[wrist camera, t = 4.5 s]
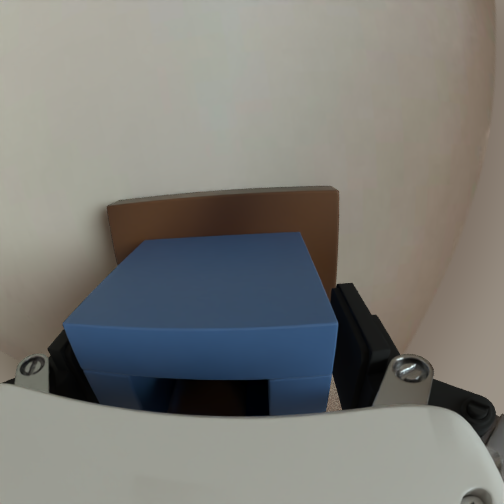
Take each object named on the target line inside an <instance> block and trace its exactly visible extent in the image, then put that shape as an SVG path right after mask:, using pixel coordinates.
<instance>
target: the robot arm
mask: <svg viewBox="0 0 504 504" xmlns="http://www.w3.org/2000/svg"><path fill="white" fill-rule="evenodd" d="M330 304H331V306H332V309H333V311H334V314H335V316H336V319H337V321H338V332H337V341H336V349H335V357H334V364H333V371H332V374H333V378H334V381H335V385H336V388H337V392H338V396H339V400H340V403H341V407H342V410H339V411H330V412H322V413H310V414H296V415H280V416H201V415H184V414H171V413H160V412H151V411H142V410H134V409H127V408H120V407H114V406H108V405H102V404H100V403H99V401H98V399H97V397H96V395H95V394H94V392H93V390H92V388H91V386H90V384H89V382H88V380H87V378H86V376H85V374H84V369H82V368H81V367H80V364H79V362H78V360H77V358H76V356H75V353H74V351H73V349H72V347H71V344H70V342H69V339H68V337H67V334H66V332H65V329H64V330H63V331H62V332H61V333H60V334H59V336H58V337H57V338H56V339H55V340H54V341H53V343H52V344H51V345H50V346H49V347H48V351H49V353H50V355H51V356H50V357H49V358H48V357H47V356H46V355H44V354H32V355H30V356H28V357H26V358H24V359H23V360H22V361H21V362H20V363H19V364H18V366H17V369H16V376H15V378H14V379H11V380H8V381H6V382H3V383H0V504H504V414H502V415H501V416H500V417H499V416H497V415H496V411H495V408H494V406H493V404H492V403H491V402H490V401H489V400H488V399H487V398H485V397H483V396H480V395H477V394H474V393H472V392H469V391H466V390H463V389H460V388H457V387H454V386H451V385H449V384H446V383H443V382H441V381H438V380H435V379H433V376H434V371H433V370H434V369H433V367H432V365H431V364H430V363H429V362H428V361H427V360H426V359H424V358H423V357H421V356H418V355H413V354H402V355H400V353H399V352H398V350H397V348H396V346H395V345H394V343H393V341H392V340H391V338H390V336H389V334H388V333H387V331H386V329H385V328H384V326H383V324H382V323H381V321H380V319H379V318H378V317H377V315H371V313H370V311H369V310H368V308H367V306H366V305H365V303H364V301H363V300H362V298H361V296H360V295H359V293H358V291H357V290H356V288H355V286H354V285H353V283H344V284H337V286H336V288H332V290H331V300H330Z"/></svg>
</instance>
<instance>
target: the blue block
mask: <svg viewBox="0 0 504 504" xmlns="http://www.w3.org/2000/svg"><path fill="white" fill-rule="evenodd" d="M63 327H64V329H65V332H66V334H67V337H68V339H69V342H70V344H71V347H72V349H73V351H74V353H75V356H76V358H77V360H78V362H79V364H80V367H81V368H82V369H84V374H85V376H86V378H87V380H88V382H89V384H90V386H91V388H92V390H93V392H94V394H95V395H96V397H97V399H98V401H99V403H100V404H102V405H108V406H114V407H120V408H127V409H134V410H142V411H151V412H160V413H167V410H168V407H169V403H170V400H171V397H172V393H173V390H174V387H175V384H176V380H177V379H194V380H247V396H246V416H280V415H296V414H310V413H322V412H326V408H327V402H328V396H329V390H330V384H331V377H332V375H331V374H332V371H333V364H334V357H335V349H336V341H337V332H338V321H337V319H336V316H335V314H334V311H333V309H332V306H331V304H330V302H329V299H328V297H327V294H326V292H325V289H324V287H323V285H322V282H321V280H320V277H319V275H318V273H317V270H316V268H315V266H314V263H313V261H312V259H311V256H310V254H309V252H308V250H307V247H306V245H305V243H304V240H303V238H302V236H301V234H300V232H284V233H262V234H242V235H223V236H205V237H187V238H171V239H155V240H144V241H143V242H142V243H141V244H140V245H139V246H138V247H137V248H136V249H135V250H134V251H133V252H132V253H130V254H129V255H128V256H127V257H126V258H125V259H124V260H123V261H122V262H121V263H120V264H119V265H118V266H117V267H116V268H115V269H114V270H113V271H112V272H111V273H110V274H109V275H108V276H107V277H106V278H105V279H104V280H103V281H102V282H101V283H100V284H99V285H98V286H97V287H96V288H95V289H94V290H93V291H92V292H91V293H90V294H89V295H88V296H87V297H86V299H85V300H84V301H83V302H82V303H81V304H80V305H79V306H78V307H77V308H76V309H75V310H74V311H73V312H72V313H71V315H70V316H69V317H68V318H67V319H66V320H65V321H64V322H63Z"/></svg>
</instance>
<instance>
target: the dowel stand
mask: <svg viewBox="0 0 504 504" xmlns="http://www.w3.org/2000/svg"><path fill="white" fill-rule="evenodd" d="M107 213H108V219H109V225H110V230H111V236H112V241H113V246H114V251H115V256H116V260H117V265H119V264H120V263H121V262H122V261H123V260H124V259H125V258H126V257H127V256H128V255H129V254H130V253H132V252H133V251H134V250H135V249H136V248H137V247H138V246H139V245H140V244H141V243H142V242H143V241H144V240H155V239H171V238H187V237H205V236H223V235H242V234H262V233H284V232H300V234H301V236H302V238H303V240H304V243H305V245H306V247H307V250H308V252H309V254H310V256H311V259H312V261H313V263H314V266H315V268H316V270H317V273H318V275H319V277H320V280H321V282H322V285H323V287H324V289H325V292H326V294H327V297H328V299H329V302H330V300H331V290H332V288H336V276H337V258H338V232H339V191H338V190H337V189H335V188H333V187H332V186H306V187H276V188H254V189H237V190H222V191H208V192H195V193H184V194H173V195H163V196H153V197H144V198H135V199H126V200H119V201H117V202H115V203H113V204H110V205H108V206H107ZM246 396H247V380H194V379H177V380H176V384H175V387H174V390H173V393H172V397H171V400H170V403H169V407H168V410H167V413H171V414H184V415H201V416H246Z"/></svg>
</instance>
